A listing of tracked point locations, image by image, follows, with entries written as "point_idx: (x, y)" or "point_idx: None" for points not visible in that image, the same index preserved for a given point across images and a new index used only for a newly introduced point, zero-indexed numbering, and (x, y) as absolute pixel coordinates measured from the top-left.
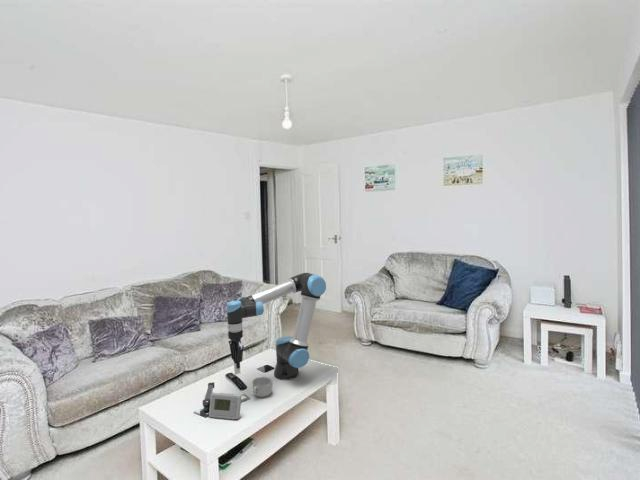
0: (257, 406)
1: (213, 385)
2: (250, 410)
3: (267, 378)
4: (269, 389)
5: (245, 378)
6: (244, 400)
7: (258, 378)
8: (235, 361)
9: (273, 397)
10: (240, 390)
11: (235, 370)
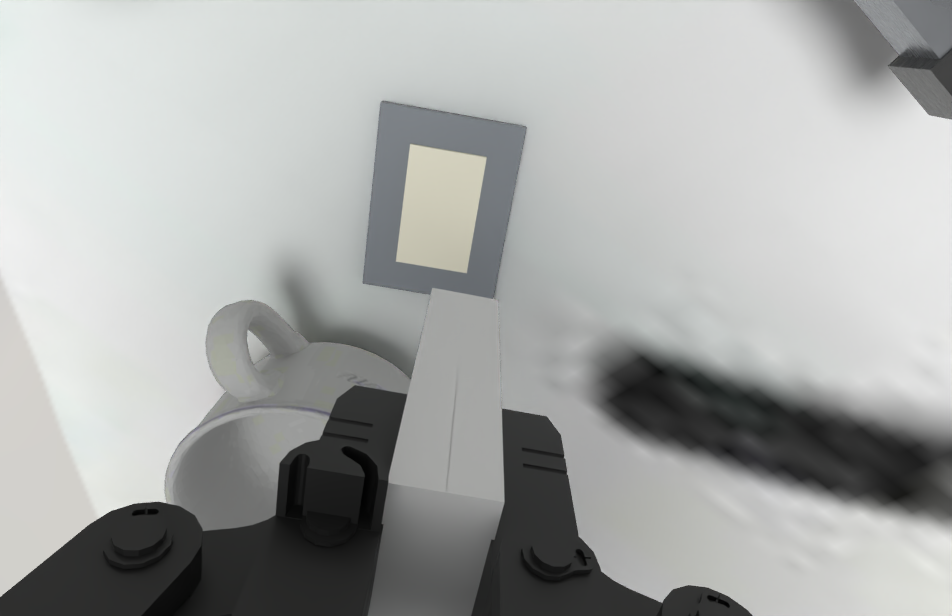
0: (161, 216)
1: (923, 61)
2: (135, 107)
3: None
4: (208, 467)
5: (777, 527)
6: (371, 207)
7: None
8: (377, 533)
9: None
10: (619, 337)
11: (433, 334)
